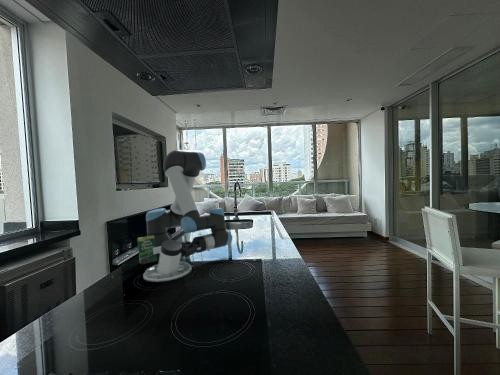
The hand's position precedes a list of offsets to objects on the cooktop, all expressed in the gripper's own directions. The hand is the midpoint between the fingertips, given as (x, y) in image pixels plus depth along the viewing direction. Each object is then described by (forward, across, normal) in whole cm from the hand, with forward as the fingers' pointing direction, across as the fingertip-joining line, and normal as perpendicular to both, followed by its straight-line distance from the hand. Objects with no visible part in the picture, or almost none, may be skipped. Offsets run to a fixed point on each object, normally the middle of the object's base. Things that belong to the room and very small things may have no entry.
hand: (159, 254), depth 109 cm
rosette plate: (-3, 0, -9) cm, 10 cm away
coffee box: (-2, +22, -9) cm, 24 cm away
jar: (-2, -3, -7) cm, 8 cm away
